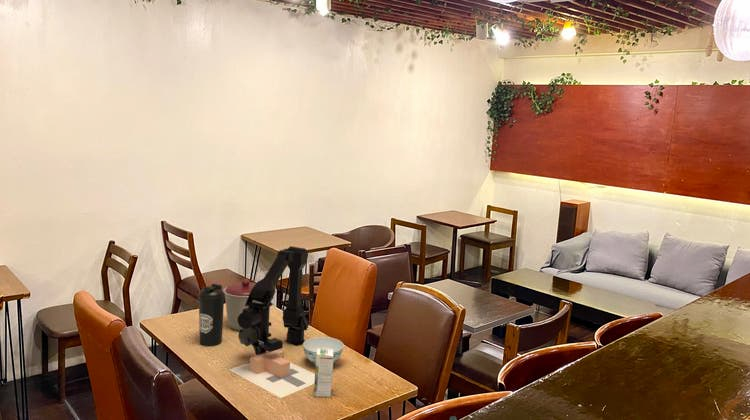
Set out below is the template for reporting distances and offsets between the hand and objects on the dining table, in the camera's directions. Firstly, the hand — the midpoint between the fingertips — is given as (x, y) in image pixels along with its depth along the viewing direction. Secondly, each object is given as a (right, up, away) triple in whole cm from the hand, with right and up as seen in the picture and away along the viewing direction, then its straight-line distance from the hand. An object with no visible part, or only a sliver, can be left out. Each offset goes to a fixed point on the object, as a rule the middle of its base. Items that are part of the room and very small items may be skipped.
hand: (259, 361), depth 206 cm
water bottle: (-23, +2, +18) cm, 29 cm away
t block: (+6, -2, -5) cm, 8 cm away
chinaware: (+23, -3, +4) cm, 23 cm away
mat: (+7, -3, -7) cm, 11 cm away
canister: (-14, +5, +36) cm, 39 cm away
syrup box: (+25, -6, -18) cm, 31 cm away
